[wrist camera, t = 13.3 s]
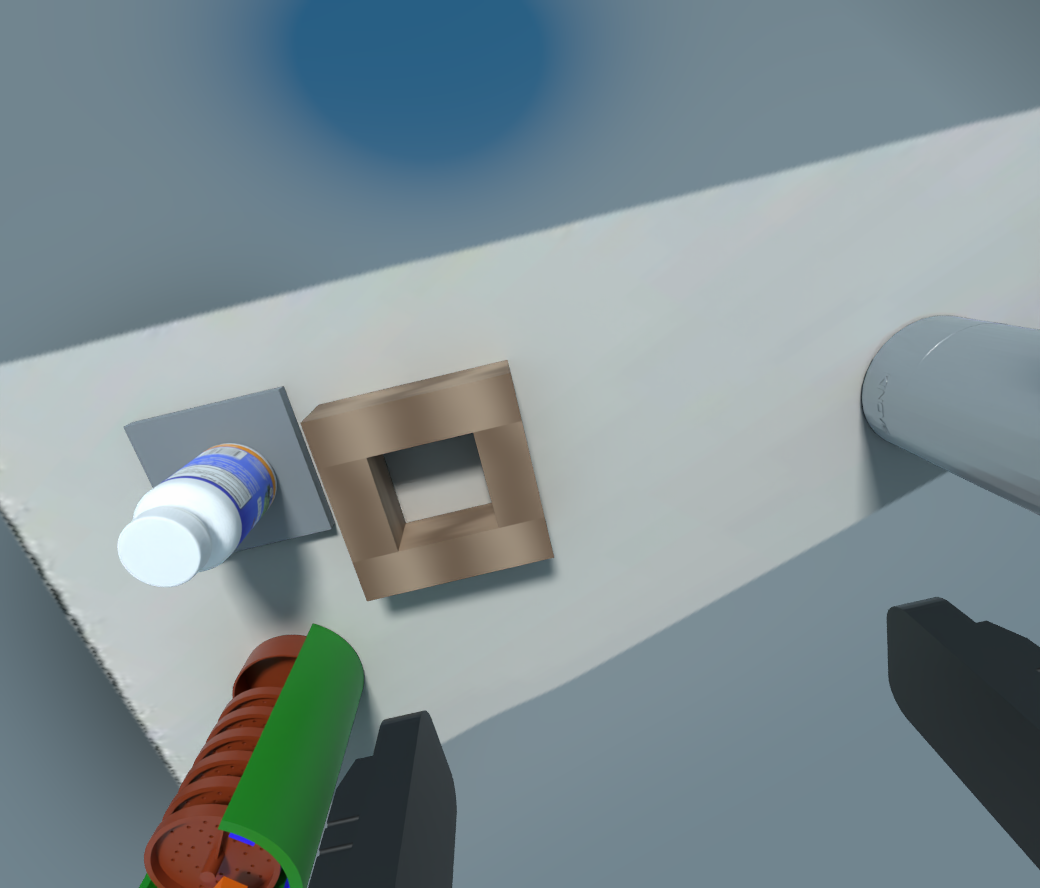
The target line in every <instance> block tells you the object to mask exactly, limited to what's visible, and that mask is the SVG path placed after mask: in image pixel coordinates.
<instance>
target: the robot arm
mask: <svg viewBox="0 0 1040 888" xmlns="http://www.w3.org/2000/svg"><path fill="white" fill-rule="evenodd" d="M862 403H863V410H864V414H865V416H866V419H867V421H868V423H869V425H870V426H871V427H872V429H873V430H874V431H875V433H877V434H878V435H879V436H880V437H882V438H883V439H884V440H886V441H888V442H890V443H892V444H894V445H896V446H898V447H900V448H902V449H905V450H907V451H909V452H911V453H913V454H915V455H917V456H919V457H921V458H923V459H925V460H927V461H928V462H930V463H933V464H935V465H937V466H939V467H941V468H943V469H945V470H947V471H949V472H951V473H953V474H955V475H957V476H959V477H961V478H963V479H965V480H968V481H970V482H972V483H974V484H976V485H978V486H980V487H982V488H984V489H986V490H988V491H990V492H992V493H994V494H996V495H998V496H1001V497H1003V498H1005V499H1007V500H1009V501H1011V502H1013V503H1015V504H1017V505H1019V506H1021V507H1023V508H1025V509H1027V510H1030V511H1031V512H1034V513H1036V514H1038V515H1040V330H1038V329H1032V328H1025V327H1019V326H1012V325H1008V324H1002V323H995V322H989V321H982V320H976V319H969V318H963V317H956V316H933V317H929V318H924V319H921V320H919V321H916V322H914V323H912V324H910V325H908V326H906V327H905V328H903V329H902V330H900V331H899V332H897V333H896V334H894V335H893V336H892V337H891V338H890V339H889V340H888V341H887V342H886V343H885V344H884V345H883V346H882V348H881V349H880V350H879V352H878V353H877V354H876V356H875V357H874V359H873V361H872V363H871V365H870V367H869V369H868V371H867V374H866V377H865V381H864V384H863V393H862ZM887 641H888V642H887V644H888V675H889V683H890V687H891V691H892V693H893V695H894V698H895V700H896V702H897V704H898V706H899V708H900V709H901V711H902V712H903V714H904V715H905V717H906V718H907V719H908V720H909V721H910V723H911V724H912V725H913V726H914V727H915V728H916V729H917V731H918V732H919V733H920V734H921V735H922V736H923V737H924V739H925V740H926V741H927V742H928V743H929V744H930V745H931V746H932V748H933V749H934V750H935V751H936V752H937V753H938V754H939V756H940V757H941V758H942V759H943V760H944V761H945V762H946V764H947V765H948V766H949V767H950V768H951V769H952V770H953V772H954V773H955V774H956V775H957V776H958V777H959V778H960V779H961V781H962V782H963V783H964V784H965V785H966V786H967V788H968V789H969V790H970V791H971V792H972V793H973V794H974V796H975V797H976V798H977V799H978V800H979V801H980V802H981V803H982V805H983V806H984V807H985V808H986V809H987V810H988V811H989V813H990V814H991V815H992V816H993V817H994V818H995V819H996V821H997V822H998V823H999V824H1000V825H1001V826H1002V827H1003V829H1004V830H1005V831H1006V832H1007V833H1008V834H1009V835H1010V836H1011V838H1012V839H1013V840H1014V841H1015V842H1016V843H1017V844H1018V846H1019V847H1020V848H1021V849H1022V850H1023V851H1024V852H1025V853H1026V855H1027V856H1028V857H1029V858H1030V859H1031V860H1032V862H1033V863H1034V864H1035V865H1036V866H1037V867H1038V868H1039V870H1040V647H1039V646H1037V645H1036V644H1034V643H1033V642H1032V641H1030V640H1029V639H1028V638H1025V637H1023V636H1021V635H1019V634H1016V633H1014V632H1012V631H1009V630H1007V629H1005V628H1002V627H1000V626H998V625H995V624H993V623H991V622H989V621H983V622H978V623H975V622H974V621H973V620H972V619H970V618H969V617H968V616H966V615H965V614H963V612H961V611H960V610H959V609H957V608H956V607H955V606H953V605H952V604H951V603H949V602H948V601H947V600H945V599H943V598H939V597H934V598H930V599H926V600H921V601H916V602H913V603H907V604H903V605H899V606H894V607H891V608H890V609H889V610H888V613H887ZM456 815H457V806H456V795H455V788H454V782H453V778H452V774H451V771H450V768H449V765H448V763H447V760H446V757H445V755H444V752H443V749H442V746H441V744H440V741H439V738H438V735H437V733H436V730H435V727H434V724H433V722H432V719H431V717H430V715H429V713H428V712H427V711H420V712H416V713H411V714H407V715H403V716H398V717H394V718H389V719H385V720H383V722H382V723H381V725H380V729H379V733H378V737H377V741H376V746H375V750H374V754H373V756H370V757H365V758H361V759H356V760H355V762H354V763H353V765H352V766H351V768H350V769H349V771H348V773H347V774H346V776H345V777H344V779H343V780H342V782H341V783H340V785H339V786H338V788H337V789H336V792H335V796H334V799H333V803H332V806H331V810H330V814H329V817H328V821H327V824H328V827H327V828H326V829H325V831H324V834H323V838H322V841H321V845H320V848H319V851H320V855H319V856H318V857H317V859H316V862H315V866H314V869H313V873H312V877H311V880H310V883H309V887H308V888H452V880H453V864H454V847H455V832H456Z"/></svg>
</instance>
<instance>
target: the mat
mask: <svg viewBox="0 0 1040 888" xmlns="http://www.w3.org/2000/svg"><path fill="white" fill-rule="evenodd" d="M124 429H125V431H126V433H127V435H128V438H129V440H130V442H131V444H132V446H133V448H134V450H135V452H136V454H137V456H138V458H139V460H140V462H141V464H142V466H143V468H144V471H145V473H146V475H147V477H148V479H149V481H150V483H151V485H152V487H153V488H154V487H156V486H157V485H158V484H160V483H161V482H163V481H164V480H165V479H167V478H168V477H170V476H171V475H172V474H174V473H175V472H177V471H178V470H179V469H181V468H182V467H184V466H185V465H186V464H188V463H189V462H190V461H192V460H193V459H195V458H196V457H197V456H198V455H200V454H201V453H203V452H204V451H206V450H207V449H209V448H211V447H213V446H216V445H220V444H226V443H234V444H240V445H244V446H247V447H249V448H252V449H253V450H255V451H257V452H258V453H260V454H261V455H262V456H263V457H264V458H265V459H266V460H267V461H268V463H269V464H270V465H271V467H272V469H273V471H274V473H275V476H276V481H277V490H276V495H275V498H274V500H273V502H272V504H271V505H270V507H269V509H268V510H267V511H266V512H265V513H264V515H263V516H262V517H261V518H260V520H259V521H258V522H257V523H256V525H255V526H254V527H253V528H252V530H251V531H250V532H249V533H248V535H247V536H246V537H245V538H244V539H243V541H242V542H241V543H240V544H239V546H238V547H237V548H236V549H235V550H234V552H237V551H241V550H245V549H250V548H254V547H258V546H262V545H267V544H271V543H275V542H279V541H283V540H288V539H292V538H296V537H300V536H305V535H309V534H313V533H317V532H322V531H326V530H330V529H332V527H333V525H334V523H335V522H334V519H333V516H332V514H331V511H330V508H329V506H328V503H327V500H326V498H325V495H324V492H323V490H322V487H321V484H320V482H319V479H318V476H317V474H316V471H315V468H314V466H313V463H312V461H311V458H310V455H309V453H308V450H307V447H306V445H305V442H304V439H303V437H302V434H301V431H300V429H299V426H298V423H297V421H296V418H295V415H294V413H293V410H292V407H291V405H290V402H289V399H288V397H287V394H286V391H285V389H284V386H282V387H278V388H274V389H270V390H266V391H261V392H257V393H253V394H249V395H245V396H240V397H236V398H232V399H228V400H224V401H220V402H215V403H211V404H207V405H203V406H199V407H194V408H190V409H186V410H182V411H178V412H174V413H169V414H165V415H161V416H157V417H153V418H148V419H144V420H140V421H136V422H132V423H130V424H128V425H126V426H124Z"/></svg>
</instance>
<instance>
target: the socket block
mask: <svg viewBox="0 0 1040 888" xmlns="http://www.w3.org/2000/svg"><path fill="white" fill-rule="evenodd" d="M301 426H302V428H303V431H304V434H305V436H306V439H307V442H308V444H309V447H310V450H311V453H312V455H313V458H314V461H315V463H316V466H317V469H318V471H319V474H320V477H321V479H322V482H323V485H324V487H325V490H326V493H327V495H328V498H329V501H330V503H331V506H332V509H333V511H334V514H335V517H336V519H337V522H338V525H339V527H340V530H341V533H342V535H343V538H344V541H345V543H346V546H347V549H348V552H349V554H350V557H351V560H352V562H353V565H354V568H355V570H356V573H357V576H358V578H359V581H360V584H361V586H362V589H363V592H364V594H365V597H366V600H367V601H371V600H375V599H379V598H384V597H388V596H392V595H396V594H401V593H405V592H409V591H413V590H418V589H422V588H426V587H430V586H435V585H439V584H443V583H447V582H452V581H456V580H460V579H464V578H469V577H473V576H477V575H481V574H486V573H490V572H494V571H499V570H503V569H507V568H511V567H516V566H520V565H524V564H528V563H533V562H537V561H541V560H545V559H550V558H554V555H553V551H552V547H551V542H550V538H549V534H548V530H547V525H546V521H545V517H544V513H543V508H542V504H541V500H540V496H539V492H538V487H537V483H536V479H535V475H534V470H533V466H532V462H531V458H530V453H529V449H528V445H527V441H526V436H525V432H524V428H523V424H522V420H521V415H520V411H519V407H518V403H517V398H516V394H515V390H514V386H513V381H512V377H511V373H510V369H509V365H508V361H507V360H505V361H501V362H496V363H492V364H488V365H484V366H480V367H476V368H471V369H467V370H463V371H459V372H455V373H450V374H446V375H442V376H438V377H434V378H429V379H425V380H421V381H417V382H413V383H408V384H404V385H400V386H396V387H392V388H388V389H383V390H379V391H375V392H371V393H367V394H362V395H358V396H354V397H350V398H346V399H341V400H337V401H333V402H329V403H325V404H320V405H318V406H317V407H316V408H315V409H314V410H313V411H312V412H311V413H310V414H309V415H308V416H307V417H306V418H305V419H304V420H303V421H302V422H301ZM469 433H473V434H474V438H475V441H476V445H477V449H478V453H479V456H480V460H481V464H482V467H483V471H484V475H485V479H486V482H487V486H488V490H489V494H490V497H491V501H492V503H489V504H485V505H481V506H477V507H472V508H468V509H464V510H460V511H456V512H451V513H447V514H443V515H439V516H434V517H430V518H426V519H422V520H417V521H413V522H409V523H405V520H404V517H403V514H402V511H401V508H400V505H399V502H398V499H397V496H396V492H395V489H394V486H393V483H392V480H391V477H390V474H389V471H388V468H387V465H386V462H385V459H384V456H383V454H385V453H389V452H393V451H398V450H402V449H406V448H410V447H414V446H419V445H423V444H427V443H431V442H435V441H440V440H444V439H448V438H452V437H456V436H461V435H465V434H469Z"/></svg>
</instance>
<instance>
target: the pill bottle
mask: <svg viewBox="0 0 1040 888" xmlns="http://www.w3.org/2000/svg"><path fill="white" fill-rule="evenodd" d="M276 490H277V481H276V476H275V473H274V471H273V469H272V467H271V465H270V464H269V463H268V461H267V460H266V459H265V458H264V457H263V456H262V455H261V454H260V453H258V452H257V451H255V450H253V449H252V448H249V447H247V446H244V445H240V444H234V443H226V444H220V445H216V446H213V447H211V448H209V449H207V450H206V451H204V452H203V453H201V454H200V455H198V456H197V457H196V458H195V459H193V460H192V461H190V462H189V463H188V464H186V465H185V466H184V467H182V468H181V469H179V470H178V471H177V472H175V473H174V474H172V475H171V476H170V477H168V478H167V479H165V480H164V481H163V482H161V483H160V484H158V485H157V486H156V487H154V488H153V489H151V490H150V491H149V492H148V493H146V494H145V495H144V496H143V498H142V499H141V500H140V501H139V503H138V505H137V507H136V509H135V512H134V516H133V521H132V522H130V523H129V524H128V525H127V526H126V527H125V528H124V530H123V531H122V532H121V534H120V537H119V540H118V555H119V558H120V560H121V562H122V564H123V566H124V567H125V568H126V570H127V571H128V572H129V573H130V574H131V575H132V576H134V577H135V578H137V579H138V580H140V581H142V582H144V583H146V584H149V585H153V586H157V587H173V586H178V585H180V584H183V583H185V582H187V581H189V580H190V579H191V578H193V577H194V576H195V575H196V574H197V573H198V572H202V571H206V570H209V569H212V568H214V567H216V566H218V565H220V564H221V563H223V562H224V561H225V560H226V559H227V558H228V557H229V556H230V555H231V554H232V553H233V552H234V550H235V549H236V548H237V547H238V546H239V544H240V543H241V542H242V541H243V539H244V538H245V537H246V536H247V535H248V533H249V532H250V531H251V530H252V528H253V527H254V526H255V525H256V523H257V522H258V521H259V520H260V518H261V517H262V516H263V515H264V513H265V512H266V511H267V510H268V509H269V507H270V505H271V504H272V502H273V500H274V498H275V495H276Z"/></svg>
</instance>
